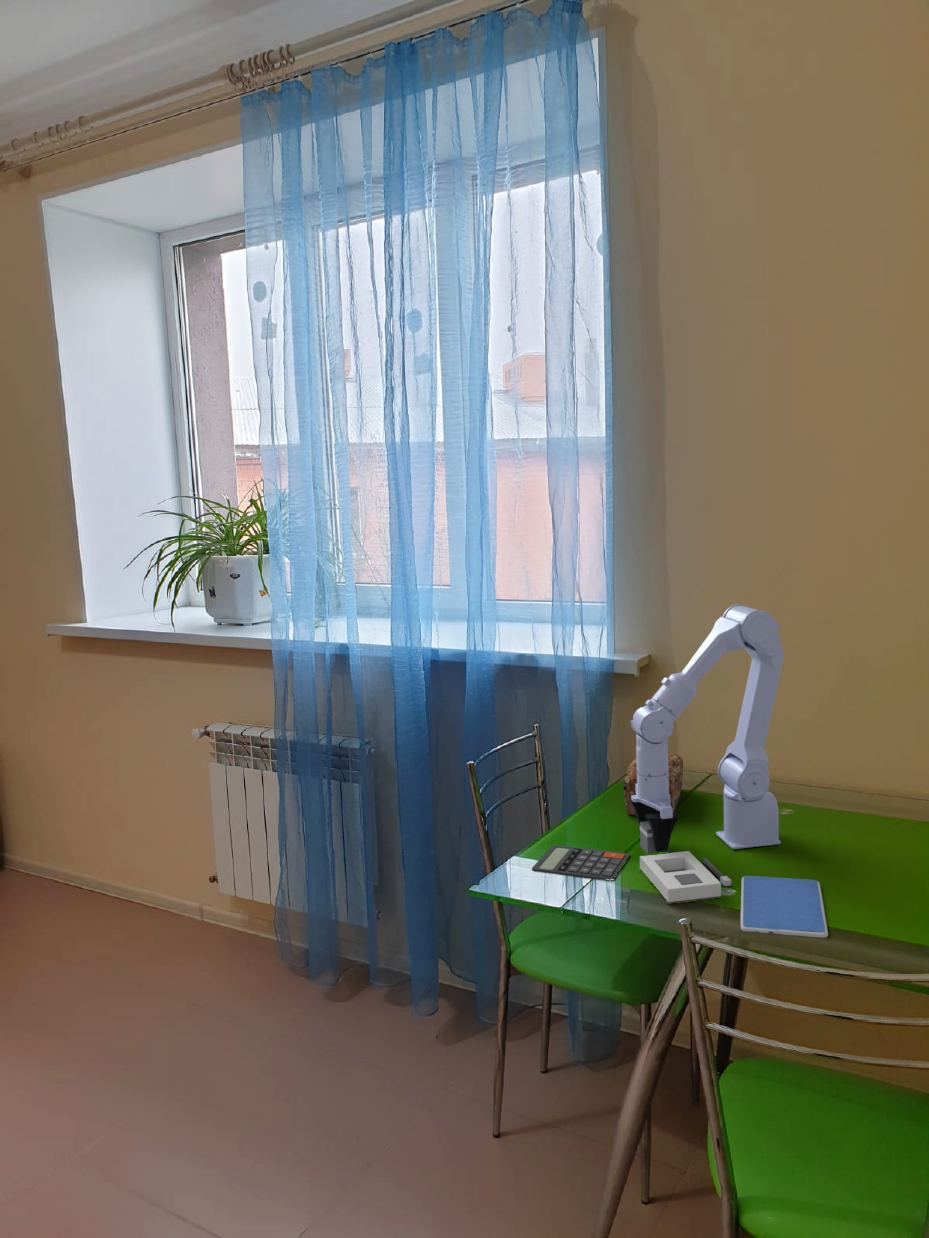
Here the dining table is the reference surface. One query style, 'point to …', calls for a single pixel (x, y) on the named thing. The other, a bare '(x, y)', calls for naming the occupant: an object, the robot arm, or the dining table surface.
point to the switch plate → (680, 877)
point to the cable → (717, 873)
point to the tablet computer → (782, 906)
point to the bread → (674, 781)
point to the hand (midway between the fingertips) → (654, 842)
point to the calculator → (581, 862)
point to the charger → (647, 838)
